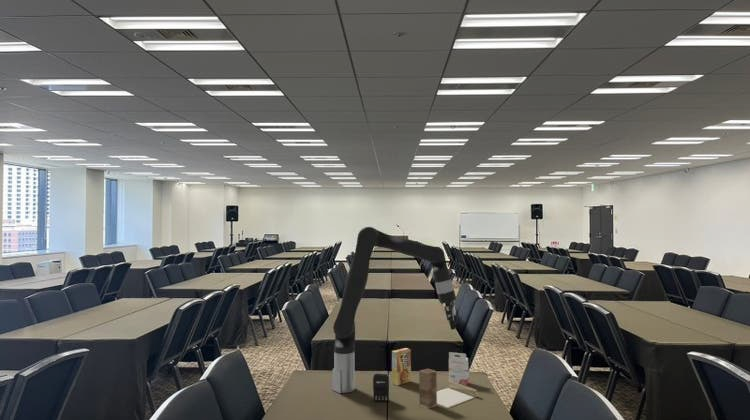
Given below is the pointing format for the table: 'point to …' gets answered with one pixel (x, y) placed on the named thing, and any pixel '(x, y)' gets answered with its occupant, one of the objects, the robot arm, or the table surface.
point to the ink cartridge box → (458, 368)
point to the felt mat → (451, 398)
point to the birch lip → (463, 389)
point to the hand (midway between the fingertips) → (454, 326)
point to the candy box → (401, 366)
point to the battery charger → (381, 387)
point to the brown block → (428, 388)
